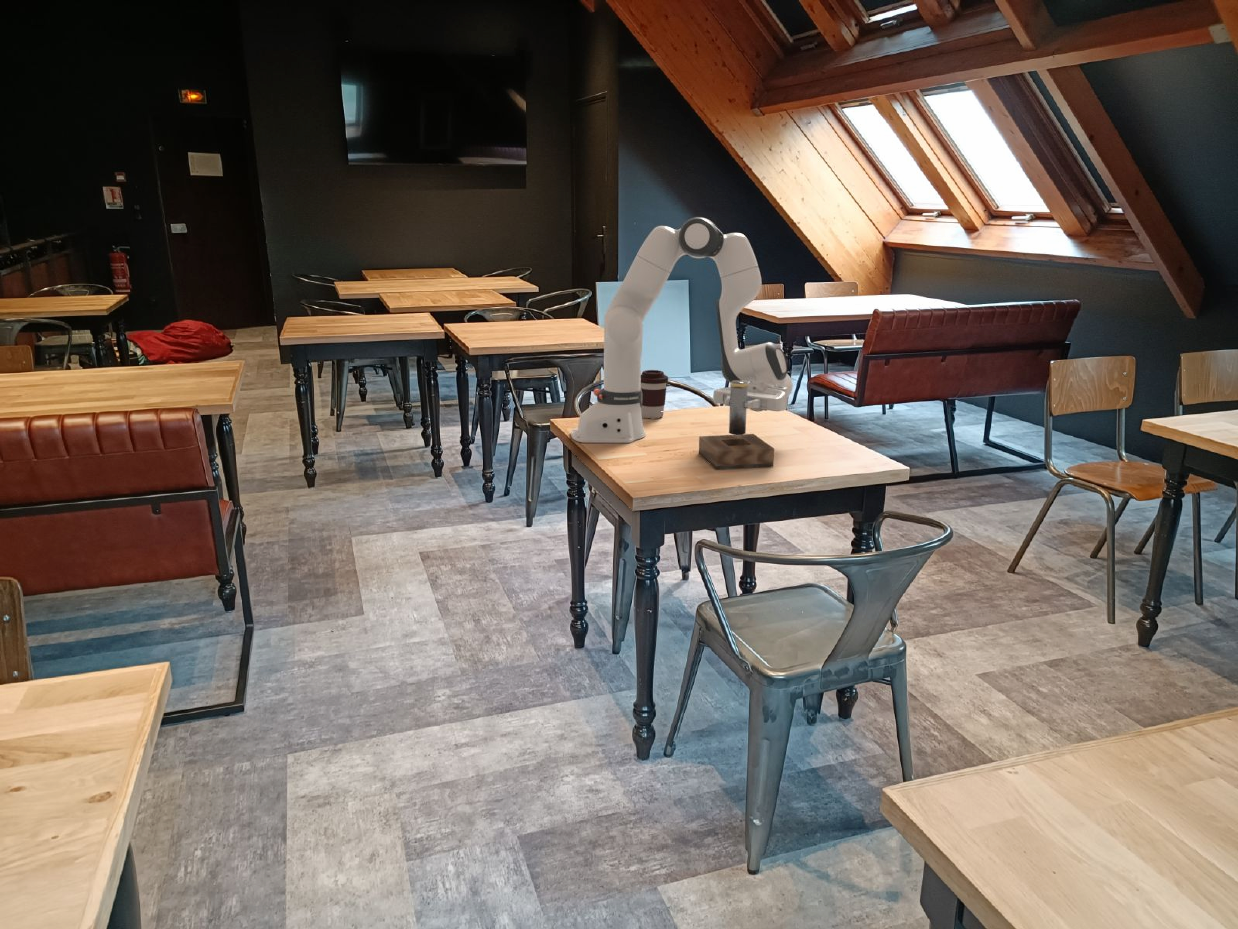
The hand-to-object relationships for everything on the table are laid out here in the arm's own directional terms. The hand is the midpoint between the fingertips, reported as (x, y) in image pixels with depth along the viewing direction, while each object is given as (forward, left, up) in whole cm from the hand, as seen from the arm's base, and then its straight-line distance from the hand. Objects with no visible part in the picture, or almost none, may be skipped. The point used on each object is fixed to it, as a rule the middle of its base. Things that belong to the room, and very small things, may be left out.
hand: (736, 404), depth 239 cm
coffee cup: (-10, +55, -16) cm, 58 cm away
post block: (0, +1, -16) cm, 16 cm away
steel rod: (+1, +1, -8) cm, 8 cm away
